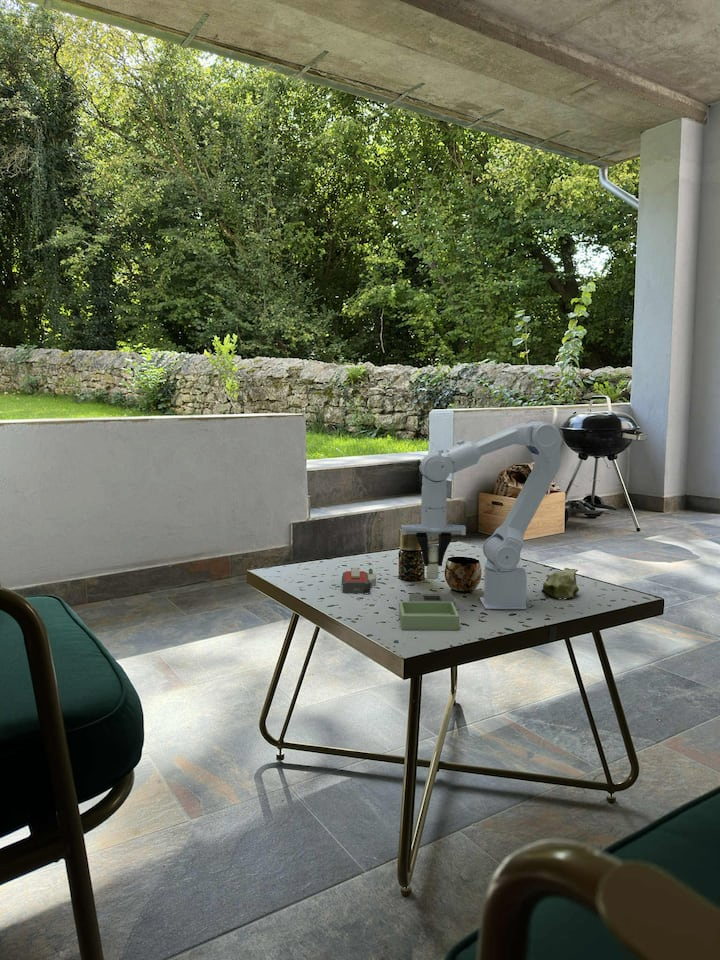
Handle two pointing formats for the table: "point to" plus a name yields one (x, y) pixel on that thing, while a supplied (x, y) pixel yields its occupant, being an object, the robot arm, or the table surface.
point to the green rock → (561, 584)
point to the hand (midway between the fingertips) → (432, 565)
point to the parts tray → (428, 616)
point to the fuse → (433, 561)
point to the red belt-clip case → (358, 581)
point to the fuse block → (431, 598)
